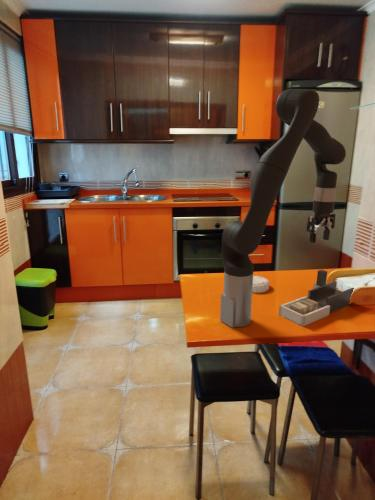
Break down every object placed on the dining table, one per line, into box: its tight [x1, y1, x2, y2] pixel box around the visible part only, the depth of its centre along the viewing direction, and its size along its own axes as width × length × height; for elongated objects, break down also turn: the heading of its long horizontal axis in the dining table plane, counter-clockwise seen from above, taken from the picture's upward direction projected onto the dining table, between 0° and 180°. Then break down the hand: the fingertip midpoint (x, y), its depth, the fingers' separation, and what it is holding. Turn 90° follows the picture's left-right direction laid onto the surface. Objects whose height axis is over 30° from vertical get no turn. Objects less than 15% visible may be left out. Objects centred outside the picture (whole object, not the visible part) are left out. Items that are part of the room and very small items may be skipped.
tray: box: [278, 295, 330, 327], centre depth 119 cm, size 14×10×4 cm
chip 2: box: [301, 298, 318, 313], centre depth 119 cm, size 4×4×4 cm
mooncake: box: [252, 275, 270, 294], centre depth 143 cm, size 12×12×4 cm
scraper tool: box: [312, 269, 328, 289], centre depth 137 cm, size 2×5×9 cm, turn 33°
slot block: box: [307, 281, 355, 314], centre depth 126 cm, size 16×8×6 cm, turn 124°
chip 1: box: [290, 302, 308, 315], centre depth 117 cm, size 4×4×4 cm
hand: (319, 241), depth 135 cm, fingers open, 8 cm apart
